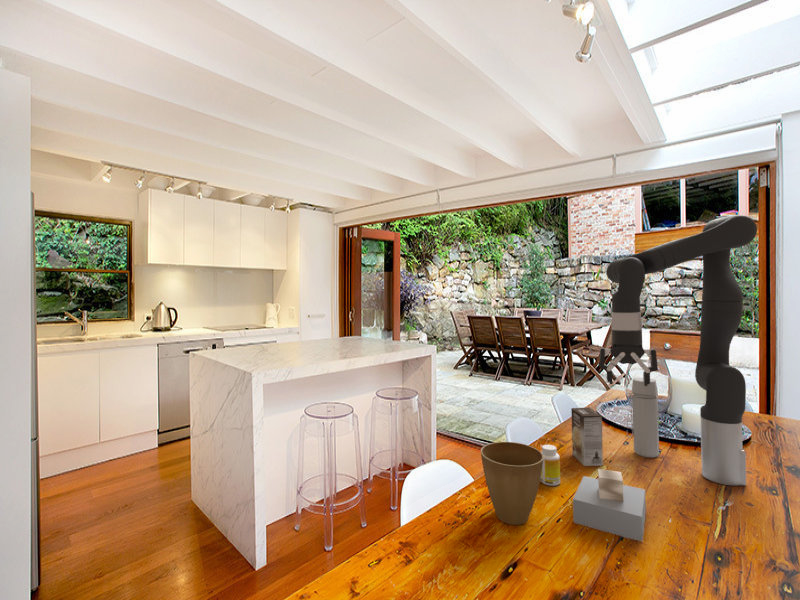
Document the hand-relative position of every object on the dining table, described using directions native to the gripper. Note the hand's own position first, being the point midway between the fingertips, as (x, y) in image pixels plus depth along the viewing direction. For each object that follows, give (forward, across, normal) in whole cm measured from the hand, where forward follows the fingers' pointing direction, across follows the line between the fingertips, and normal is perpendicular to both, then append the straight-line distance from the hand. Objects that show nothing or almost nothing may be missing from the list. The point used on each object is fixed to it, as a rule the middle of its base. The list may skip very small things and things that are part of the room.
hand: (627, 384), depth 111 cm
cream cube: (+22, +6, +22) cm, 32 cm away
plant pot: (+28, +28, +30) cm, 50 cm away
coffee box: (+28, +11, -12) cm, 33 cm away
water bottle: (+28, -6, -24) cm, 38 cm away
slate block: (+28, +6, +21) cm, 36 cm away
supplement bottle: (+28, +21, +8) cm, 36 cm away
